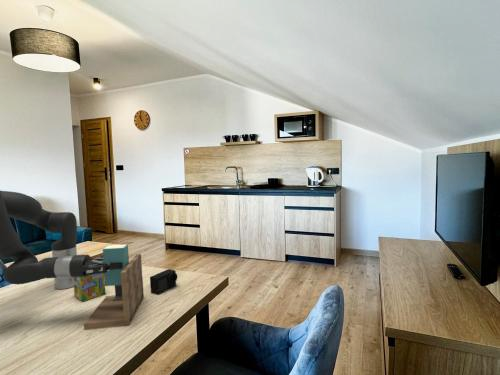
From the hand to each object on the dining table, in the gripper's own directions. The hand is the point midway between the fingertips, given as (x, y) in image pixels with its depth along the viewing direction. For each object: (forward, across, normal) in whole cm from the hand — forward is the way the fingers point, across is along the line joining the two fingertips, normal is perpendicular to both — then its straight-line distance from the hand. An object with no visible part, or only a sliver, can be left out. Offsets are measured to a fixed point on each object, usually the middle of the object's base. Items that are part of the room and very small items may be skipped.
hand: (124, 263), depth 102 cm
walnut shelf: (-4, +1, +18) cm, 19 cm away
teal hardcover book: (-3, 0, +7) cm, 7 cm away
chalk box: (-20, +18, +19) cm, 33 cm away
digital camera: (+10, +18, +18) cm, 27 cm away
